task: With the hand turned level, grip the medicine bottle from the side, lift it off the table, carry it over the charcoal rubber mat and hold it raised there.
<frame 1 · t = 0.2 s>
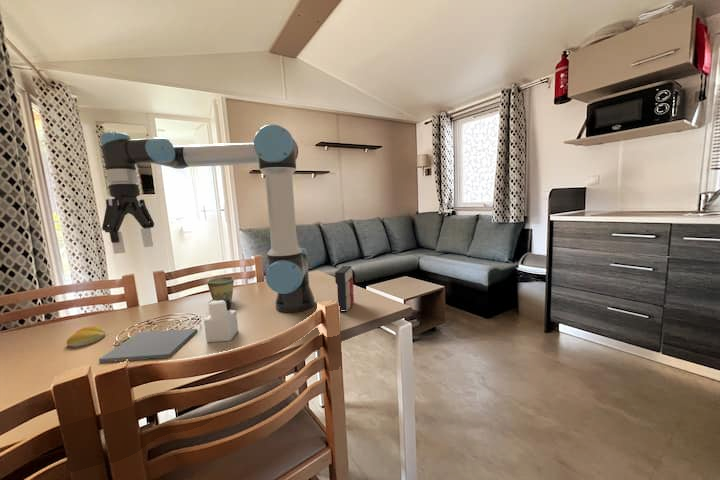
hand: (135, 249, 96), 27 cm above the table, tool pointing down, fingers open, 13 cm apart
yellow seashell: (87, 341, 92), on the table
mat: (153, 345, 87), on the table
dark grey box: (346, 307, 113), on the table
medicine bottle: (223, 337, 91), on the table
ceramic cup: (224, 302, 124), on the table
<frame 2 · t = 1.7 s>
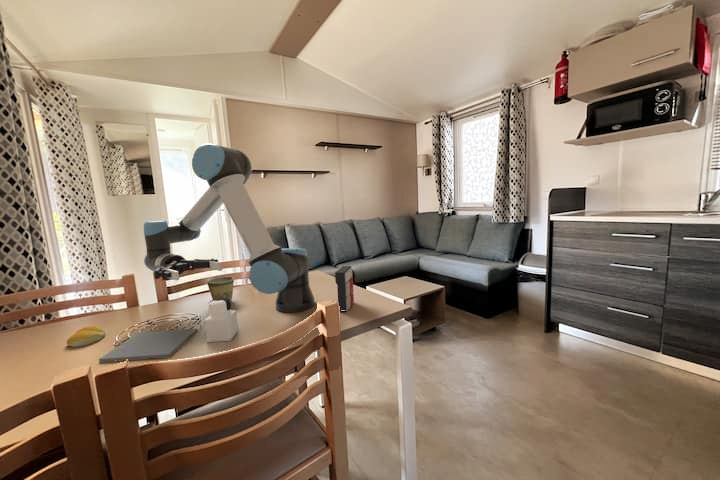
hand: (200, 271, 94), 20 cm above the table, tool horizontal, fingers open, 13 cm apart
nothing on the table moved.
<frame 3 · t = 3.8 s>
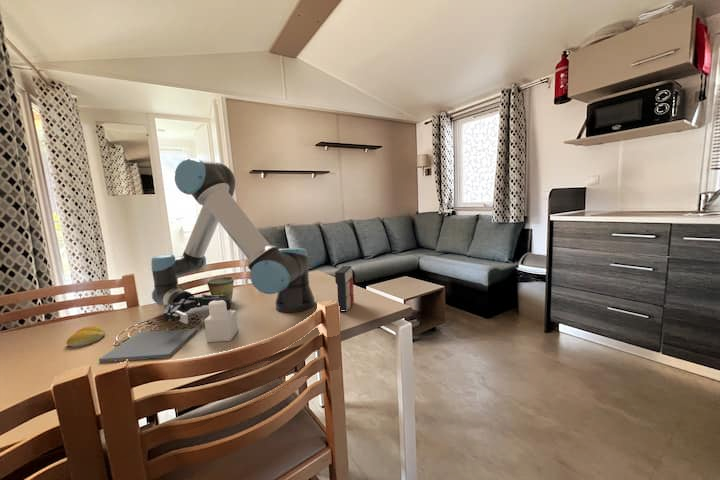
hand: (209, 311, 94), 7 cm above the table, tool horizontal, fingers open, 13 cm apart
nothing on the table moved.
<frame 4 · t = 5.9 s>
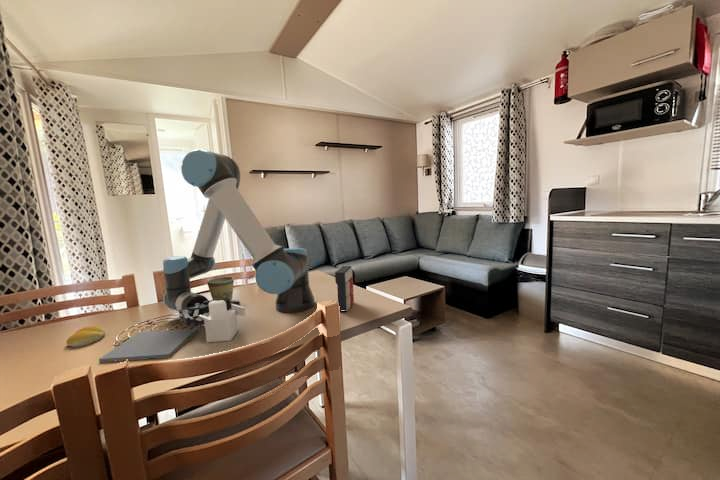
hand: (228, 317, 88), 7 cm above the table, tool horizontal, fingers closed on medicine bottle, 10 cm apart
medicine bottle: (223, 337, 91), on the table, touching gripper
everything else where it was.
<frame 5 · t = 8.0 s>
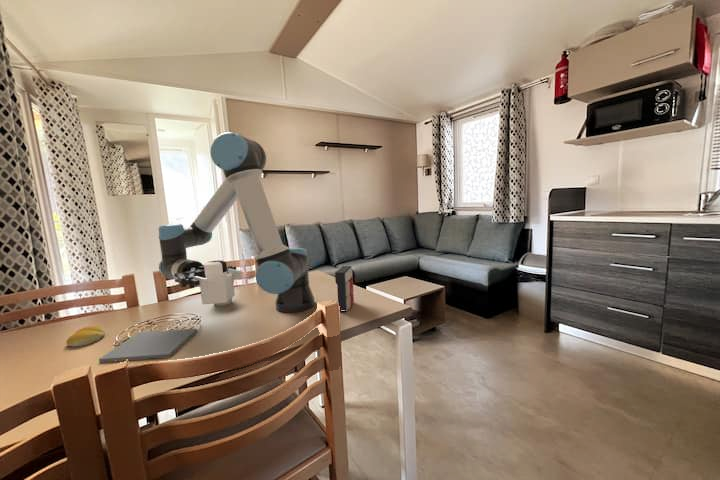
hand: (224, 279, 86), 19 cm above the table, tool horizontal, fingers closed on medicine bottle, 10 cm apart
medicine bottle: (219, 300, 90), point 12 cm above the table, touching gripper
everything else where it was.
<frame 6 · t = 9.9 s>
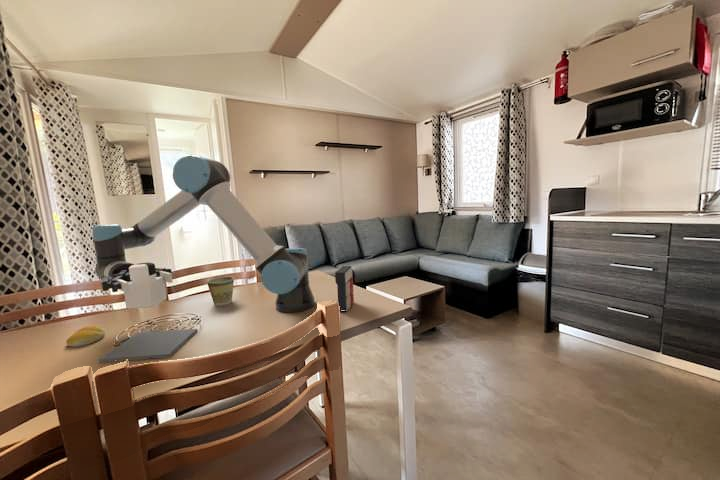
hand: (150, 282, 82), 20 cm above the table, tool horizontal, fingers closed on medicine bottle, 10 cm apart
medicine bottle: (147, 304, 85), point 13 cm above the table, touching gripper
everything else where it was.
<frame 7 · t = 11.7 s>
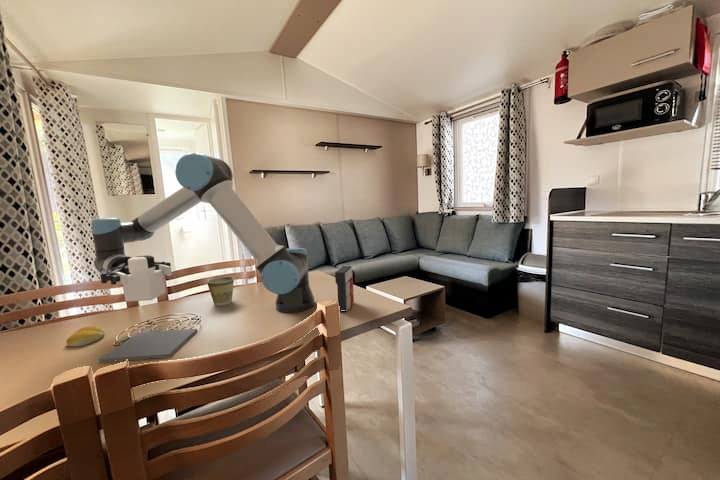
hand: (149, 275, 81), 22 cm above the table, tool horizontal, fingers closed on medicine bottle, 10 cm apart
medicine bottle: (146, 297, 85), point 15 cm above the table, touching gripper
everything else where it was.
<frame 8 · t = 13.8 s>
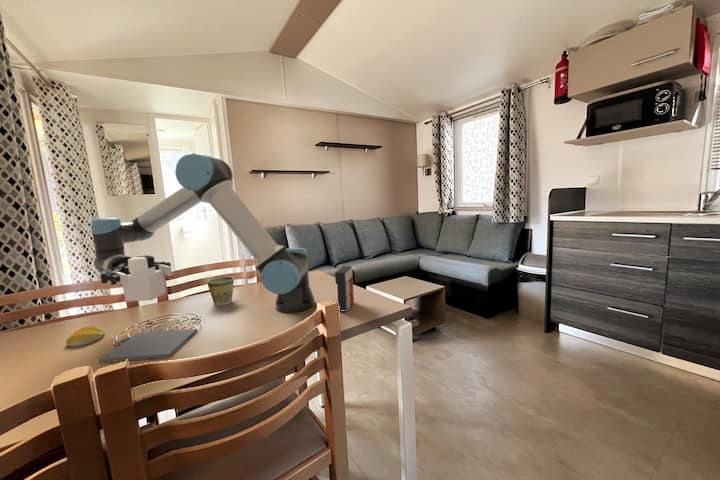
hand: (149, 275, 81), 22 cm above the table, tool horizontal, fingers closed on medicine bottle, 10 cm apart
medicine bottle: (146, 297, 85), point 15 cm above the table, touching gripper
everything else where it was.
at the end: the gripper is holding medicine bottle; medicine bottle point 14.7 cm above the table; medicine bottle 0.1 cm from the mat (horizontally) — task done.
